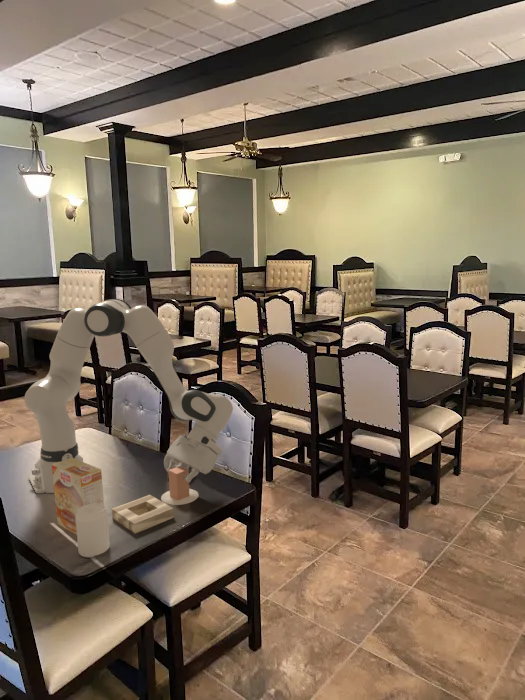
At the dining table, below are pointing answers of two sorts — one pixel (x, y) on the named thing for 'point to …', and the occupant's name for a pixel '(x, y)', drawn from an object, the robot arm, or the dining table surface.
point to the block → (178, 483)
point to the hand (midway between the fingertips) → (177, 476)
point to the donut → (167, 463)
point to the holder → (142, 513)
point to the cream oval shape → (192, 496)
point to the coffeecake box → (75, 489)
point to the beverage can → (92, 530)
